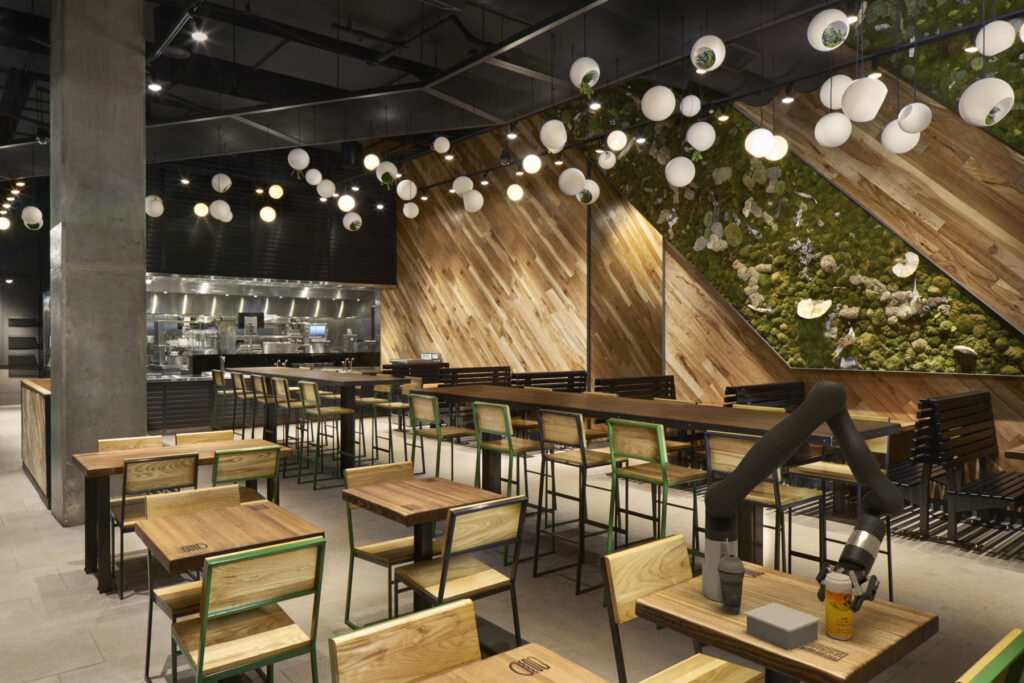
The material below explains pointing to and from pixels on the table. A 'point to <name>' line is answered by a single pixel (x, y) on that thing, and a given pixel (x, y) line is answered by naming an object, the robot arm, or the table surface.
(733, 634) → the table surface
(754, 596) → the table surface
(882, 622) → the table surface
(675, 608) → the table surface
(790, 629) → the grey square box
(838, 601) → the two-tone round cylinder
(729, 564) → the beverage cup
